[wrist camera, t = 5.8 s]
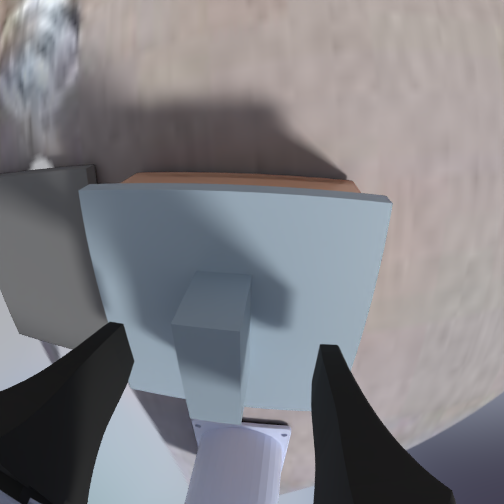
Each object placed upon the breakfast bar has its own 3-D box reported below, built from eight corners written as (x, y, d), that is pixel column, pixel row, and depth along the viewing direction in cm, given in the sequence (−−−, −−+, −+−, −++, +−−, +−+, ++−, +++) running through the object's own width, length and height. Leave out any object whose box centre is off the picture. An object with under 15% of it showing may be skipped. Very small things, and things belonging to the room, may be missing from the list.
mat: (133, 354, 21) (129, 362, 20) (24, 327, 21) (19, 333, 21) (94, 164, 15) (86, 168, 14) (-23, 177, 15) (-31, 181, 15)
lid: (335, 399, 15) (339, 460, 12) (135, 378, 16) (111, 430, 13) (385, 195, 10) (426, 244, 7) (89, 184, 11) (27, 222, 8)
